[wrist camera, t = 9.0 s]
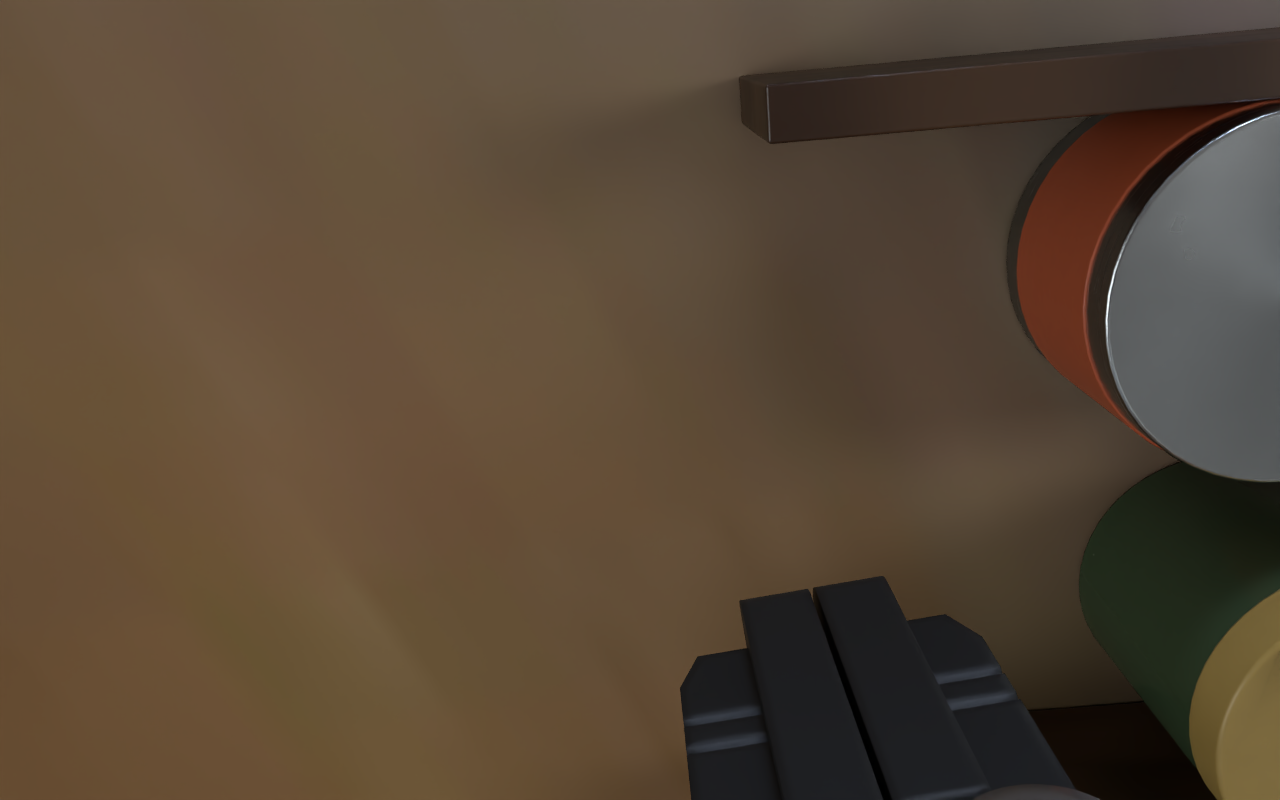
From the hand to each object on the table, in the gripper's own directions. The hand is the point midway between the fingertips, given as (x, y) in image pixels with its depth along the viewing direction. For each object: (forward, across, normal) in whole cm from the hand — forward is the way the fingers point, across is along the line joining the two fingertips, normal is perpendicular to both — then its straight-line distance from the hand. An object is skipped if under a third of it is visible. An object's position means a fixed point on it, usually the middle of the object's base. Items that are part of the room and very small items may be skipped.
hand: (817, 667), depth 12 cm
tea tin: (+14, -11, +8) cm, 20 cm away
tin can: (+14, -10, 0) cm, 18 cm away
